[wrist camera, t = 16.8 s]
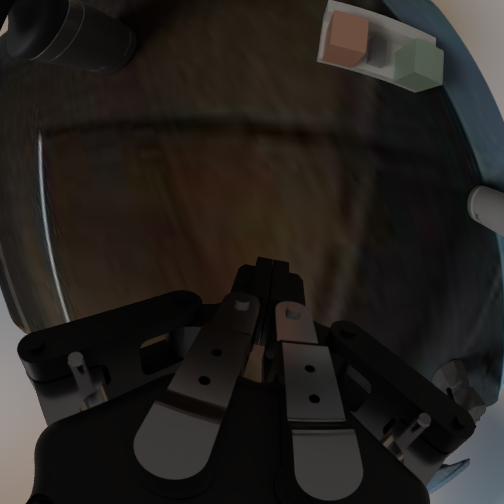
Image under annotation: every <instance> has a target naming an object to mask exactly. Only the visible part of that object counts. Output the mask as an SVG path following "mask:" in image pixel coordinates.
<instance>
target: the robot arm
mask: <svg viewBox="0 0 504 504" xmlns="http://www.w3.org/2000/svg"><path fill="white" fill-rule="evenodd" d="M7 15H8V21H9V22H8V33H7V50H8V53H9V54H10V55H11V56H12V57H14V58H17V59H24V60H33V61H41V62H48V63H54V64H59V65H65V66H70V67H74V68H79V69H84V70H88V71H92V72H96V73H100V74H111V73H114V72H116V71H118V70H119V69H121V68H122V67H123V66H124V65H125V64H126V63H127V62H128V61H129V60H130V58H131V57H132V55H133V53H134V51H135V48H136V44H137V36H136V34H135V32H134V30H133V29H131V28H130V27H128V26H126V25H125V24H123V23H121V22H120V21H118V20H116V19H114V18H112V17H110V16H109V15H107V14H105V13H103V12H101V11H99V10H97V9H95V8H93V7H91V6H89V5H87V4H85V3H83V2H81V1H78V0H0V30H1V28H2V26H3V24H4V21H5V19H6V17H7ZM272 262H273V266H272ZM260 333H261V336H260ZM163 334H165V340H162V341H159V342H157V343H154V344H152V345H149V346H146V347H144V348H141V349H140V347H141V345H142V344H143V343H144V342H145V341H147V340H149V339H152V338H155V337H157V336H160V335H163ZM259 337H260V344H259V345H261V346H265V350H264V354H263V358H262V383H258V382H255V381H252V380H249V379H247V378H244V377H243V376H244V373H245V370H246V366H247V363H248V360H249V355H250V353H251V352H252V350H253V345H254V344H255V345H258V341H259ZM17 352H18V355H19V357H20V359H21V361H22V363H23V365H24V367H25V369H26V373H27V376H28V377H29V379H30V381H31V383H32V385H33V387H34V388H35V390H36V393H37V396H38V399H39V403H40V406H41V409H42V411H43V415H44V417H45V419H46V423H47V425H48V427H47V428H46V429H45V430H44V431H43V432H42V433H41V435H40V437H39V439H38V441H37V443H36V447H35V453H34V455H35V457H34V460H35V477H34V485H33V490H32V494H31V496H30V498H29V500H28V501H27V503H26V504H430V498H429V494H428V491H427V489H426V485H427V484H428V483H429V481H430V480H431V479H432V477H433V476H434V475H435V473H436V472H437V470H438V469H439V468H440V466H441V465H442V463H443V462H444V460H445V458H447V457H448V456H449V455H450V454H451V453H453V452H454V451H455V450H456V449H457V448H458V447H459V446H460V445H462V444H463V443H464V442H465V441H466V440H467V439H468V438H469V437H470V436H471V435H472V434H473V433H474V430H475V423H474V420H473V418H472V416H471V415H470V413H469V412H468V411H466V410H465V409H464V408H463V407H461V406H460V405H459V404H458V403H456V402H455V401H454V400H453V399H451V398H450V397H449V396H447V395H446V394H445V393H444V392H442V391H441V390H440V389H439V388H437V387H436V386H435V385H433V384H432V383H431V382H430V381H428V380H427V379H426V378H425V377H423V376H422V375H421V374H419V373H418V372H417V371H416V370H414V369H413V368H412V367H411V366H409V365H408V364H407V363H405V362H404V361H403V360H402V359H400V358H399V357H398V356H396V355H395V354H394V353H393V352H391V351H390V350H389V349H387V348H386V347H385V346H384V345H382V344H381V343H380V342H378V341H377V340H376V339H375V338H373V337H372V336H371V335H369V334H368V333H367V332H366V331H364V330H363V329H362V328H360V327H359V326H358V325H356V324H354V323H352V322H348V321H336V322H334V323H333V324H332V325H331V328H329V327H326V326H323V325H321V324H318V323H316V322H315V321H313V319H312V315H311V312H310V310H309V309H308V308H307V307H306V306H305V296H304V288H303V280H302V279H301V278H300V276H299V275H298V274H293V273H289V262H284V261H279V260H274V261H273V259H268V258H263V257H258V258H257V262H256V266H251V265H246V264H245V265H243V266H242V267H240V268H239V269H238V272H237V275H236V278H235V281H234V284H233V286H232V289H231V292H230V293H229V294H227V295H226V296H225V297H224V299H223V301H222V302H221V303H218V304H202V299H201V298H200V297H199V296H198V295H197V294H195V293H193V292H190V291H185V290H178V291H173V292H170V293H166V294H163V295H160V296H156V297H153V298H150V299H146V300H143V301H140V302H136V303H133V304H130V305H126V306H123V307H120V308H116V309H113V310H109V311H106V312H103V313H99V314H96V315H92V316H89V317H85V318H82V319H78V320H75V321H71V322H68V323H64V324H61V325H57V326H54V327H50V328H47V329H43V330H39V331H36V332H32V333H30V334H28V335H26V336H25V337H23V338H22V339H21V341H20V342H19V344H18V347H17ZM351 366H352V367H353V368H354V369H355V370H357V371H358V372H359V373H360V374H361V375H362V376H364V377H365V378H366V379H367V380H368V381H369V382H370V384H371V392H370V394H369V393H368V392H367V391H366V390H364V389H363V388H362V387H361V386H360V385H359V384H358V383H357V382H356V381H354V380H353V379H352V378H351V377H350V376H349V375H348V374H347V373H348V372H349V370H350V368H351Z"/></svg>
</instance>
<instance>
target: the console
mask: <svg viewBox="0 0 504 504" xmlns="http://www.w3.org/2000/svg"><path fill="white" fill-rule="evenodd" d="M334 10H337V11H341V12H345V13H349V14H352V15H356V16H359V17H363V18H366V19H369V24H368V36H367V46H366V54H365V55H364V56H363V57H362V58H361V59H360V60H359V61H358V62H357V63H356V64H355V65H354V66H353V67H352V68H349V67H345V66H341V65H337V64H333V63H329V62H325V61H322V57H323V51H324V44H325V37H326V30H327V28H328V25H329V22H330V20H331V17H332V15H333V12H334ZM415 38H418V39H420V40H422V41H425V42H427V43H429V44H431V45H433V46H435V47H436V38H435V37H433V36H431V35H429V34H426V33H424V32H422V31H420V30H418V29H416V28H413V27H411V26H409V25H406V24H404V23H402V22H399V21H397V20H394V19H391V18H389V17H386V16H383V15H380V14H377V13H375V12H372V11H368V10H365V9H362V8H359V7H355V6H352V5H348V4H344V3H340V2H336V1H332V0H329V1H328V4H327V7H326V10H325V14H324V17H323V23H322V30H321V37H320V44H319V51H318V57H317V62H321V63H325V64H329V65H334V66H337V67H341V68H345V69H349V70H352V71H356V72H359V73H362V74H366V75H369V76H372V77H375V78H378V79H381V80H384V81H387V82H390V83H392V84H395V85H398V86H400V87H403V88H405V89H408V90H410V91H413V92H417V91H415V90H412V89H410V88H407V87H405V86H402V85H400V84H397V83H395V82H393V78H394V68H395V58H396V52H397V51H398V50H399V49H401V48H402V47H404V46H405V45H406V44H408V43H409V42H411V41H412V40H413V39H415Z"/></svg>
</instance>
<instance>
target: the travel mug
mask: <svg viewBox="0 0 504 504" xmlns="http://www.w3.org/2000/svg"><path fill="white" fill-rule="evenodd" d="M467 207H468V212H469V215H470V216H471V218H472V219H473V220H475V221H477V222H479V223H481V224H482V225H484V226H486V227H488V228H489V229H491V230H493V231H494V232H496V233H498V234H499V235H501V236H503V237H504V193H502V192H500V191H497V190H494V189H492V188H489V187H486V186H483V185H478V186H476V187H474V188H473V189H472V191H471V192H470V194H469V197H468V202H467Z"/></svg>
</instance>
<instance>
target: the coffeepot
mask: <svg viewBox="0 0 504 504" xmlns="http://www.w3.org/2000/svg"><path fill="white" fill-rule="evenodd" d="M432 382H433V385H435V386H436V387H437V388H439V389H440V390H441V391H442V392H444V393H445V394H446V395H447V396H449V397H450V398H451V399H453V400H454V401H455V402H456V403H458V404H459V405H460V406H461V407H463V408H464V409H465V410H466V411H468V412H469V413H470V415H471V416H472V418H473V420H474V423H476V422H477V421H479V420H480V417H481V416H482V415H483V414H484V413H485V411H486V404H485V402H484V401H483V400H482V398H481V397H480V396H479V395H478V393H477V392H476V391H475V390H474V388H473V387H470V385H469V380H468V377H467V374H466V371H465V368H464V365H463V362H462V361H461V360H452V361H449V362H447V363H446V364H444V365H443V366H441V367H440V368H439V369H438V370H437V371H436V373H435V374H434V376H433V378H432ZM475 428H476V425H475Z"/></svg>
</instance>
